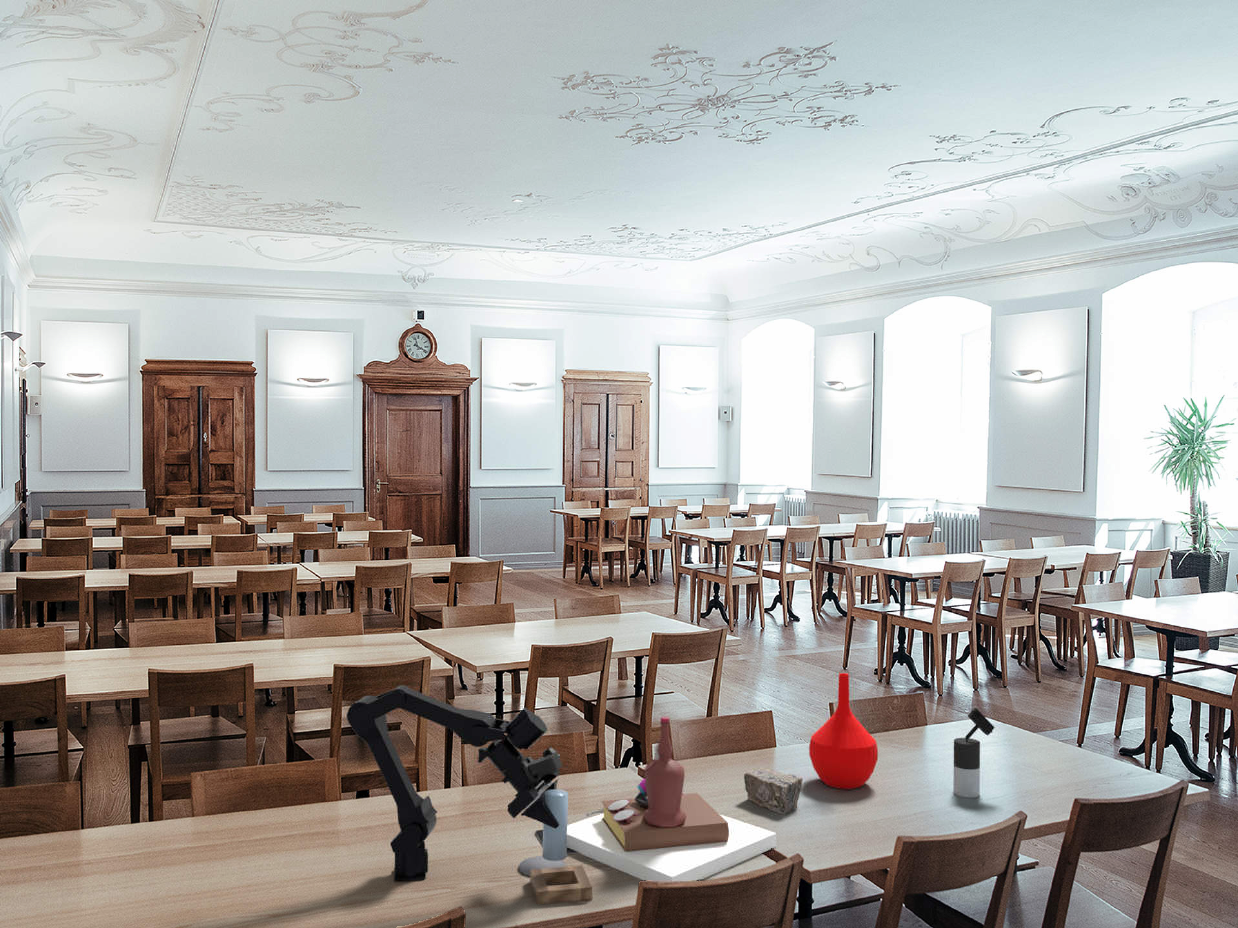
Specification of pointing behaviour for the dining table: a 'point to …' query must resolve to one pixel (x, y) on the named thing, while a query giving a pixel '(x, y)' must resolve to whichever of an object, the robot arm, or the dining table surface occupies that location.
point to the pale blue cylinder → (557, 837)
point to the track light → (969, 758)
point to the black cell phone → (540, 836)
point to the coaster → (538, 864)
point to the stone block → (773, 789)
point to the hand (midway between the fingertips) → (561, 822)
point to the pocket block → (560, 892)
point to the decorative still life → (666, 828)
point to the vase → (843, 746)
